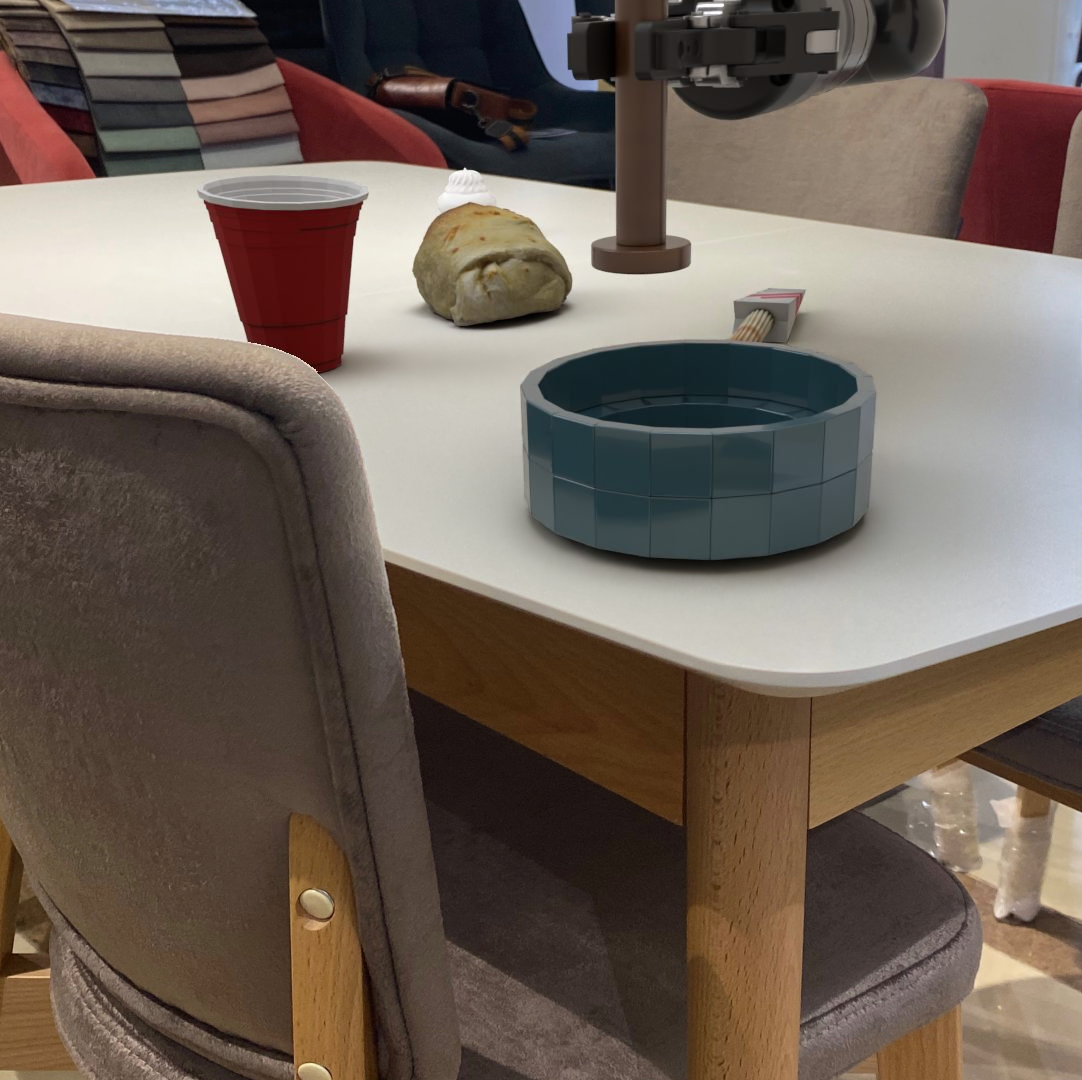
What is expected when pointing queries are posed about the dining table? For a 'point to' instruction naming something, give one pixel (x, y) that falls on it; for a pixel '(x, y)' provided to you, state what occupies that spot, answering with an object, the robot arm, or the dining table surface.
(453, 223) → the pastry
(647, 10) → the stirrer
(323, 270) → the plastic cup
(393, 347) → the dining table surface
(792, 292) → the box of toothpicks
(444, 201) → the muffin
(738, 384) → the bowl
